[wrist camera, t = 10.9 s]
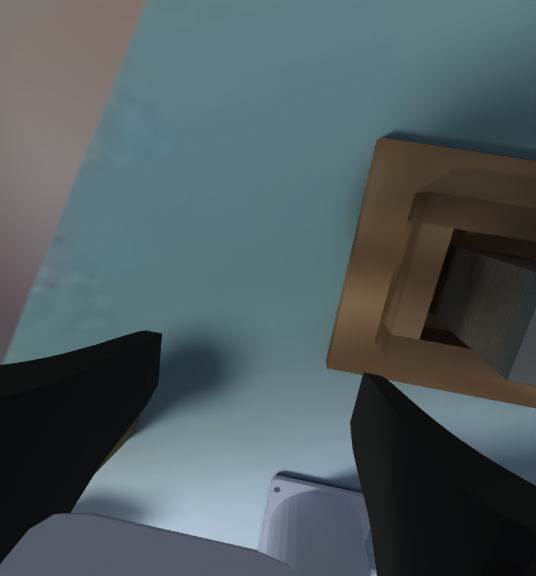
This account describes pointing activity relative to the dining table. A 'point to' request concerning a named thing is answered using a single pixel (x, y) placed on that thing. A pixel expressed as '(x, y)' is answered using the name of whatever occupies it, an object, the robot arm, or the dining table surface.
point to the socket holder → (428, 263)
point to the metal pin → (491, 308)
